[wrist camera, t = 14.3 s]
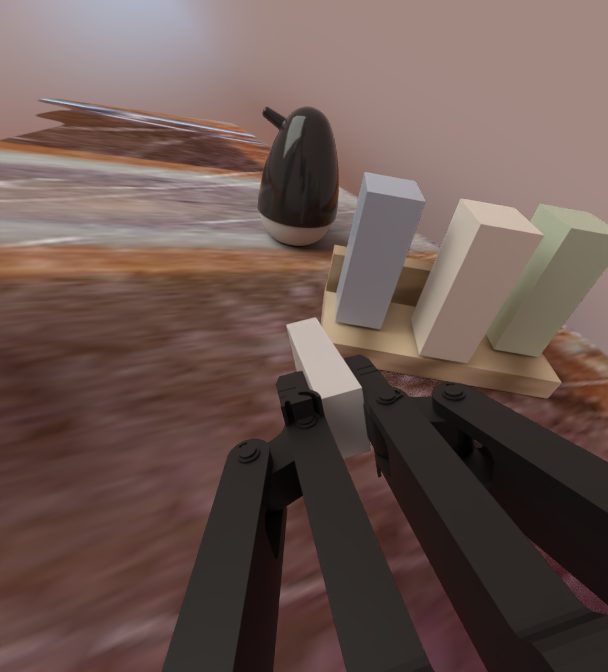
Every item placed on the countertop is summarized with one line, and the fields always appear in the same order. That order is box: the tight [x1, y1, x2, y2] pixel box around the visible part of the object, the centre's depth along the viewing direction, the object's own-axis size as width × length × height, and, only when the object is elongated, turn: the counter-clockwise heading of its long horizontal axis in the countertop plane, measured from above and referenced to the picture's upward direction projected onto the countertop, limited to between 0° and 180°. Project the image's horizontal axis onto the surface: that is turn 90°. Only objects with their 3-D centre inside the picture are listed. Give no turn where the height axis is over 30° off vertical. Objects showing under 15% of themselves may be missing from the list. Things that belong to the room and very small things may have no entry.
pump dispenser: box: [258, 107, 339, 246], centre depth 44 cm, size 10×10×15 cm
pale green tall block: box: [486, 204, 608, 357], centre depth 29 cm, size 4×5×11 cm
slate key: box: [335, 172, 426, 329], centre depth 29 cm, size 4×5×11 cm
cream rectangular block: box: [411, 198, 544, 363], centre depth 27 cm, size 4×5×11 cm
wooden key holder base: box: [321, 245, 561, 399], centre depth 32 cm, size 20×10×6 cm, turn 84°
